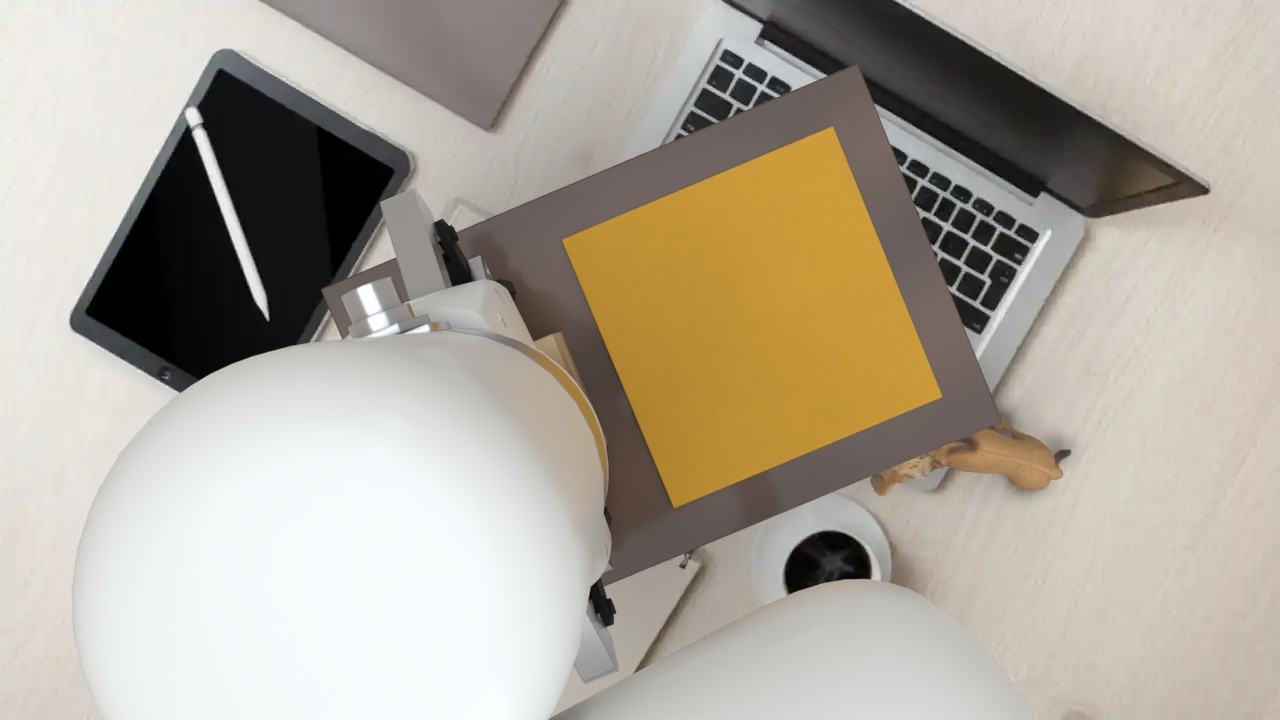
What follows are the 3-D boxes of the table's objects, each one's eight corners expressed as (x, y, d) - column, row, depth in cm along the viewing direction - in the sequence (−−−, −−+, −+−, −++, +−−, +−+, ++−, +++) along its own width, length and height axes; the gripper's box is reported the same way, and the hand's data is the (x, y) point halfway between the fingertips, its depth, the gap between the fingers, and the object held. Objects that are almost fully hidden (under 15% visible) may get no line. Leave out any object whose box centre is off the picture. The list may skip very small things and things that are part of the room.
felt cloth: (940, 396, 46) (943, 397, 45) (673, 506, 46) (673, 508, 45) (831, 127, 45) (833, 125, 45) (561, 240, 45) (561, 239, 45)
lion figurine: (841, 478, 72) (870, 502, 63) (845, 397, 72) (875, 410, 63) (1064, 488, 72) (1125, 514, 63) (1070, 408, 72) (1132, 422, 63)
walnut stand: (870, 381, 72) (1002, 422, 46) (531, 521, 72) (471, 641, 46) (777, 153, 71) (858, 62, 45) (436, 296, 71) (319, 289, 45)
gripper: (173, 214, 27) (355, 252, 44) (452, 855, 27) (523, 646, 45) (457, 95, 27) (528, 179, 44) (729, 741, 27) (694, 575, 44)
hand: (525, 415), depth 44 cm, fingers open, 9 cm apart
